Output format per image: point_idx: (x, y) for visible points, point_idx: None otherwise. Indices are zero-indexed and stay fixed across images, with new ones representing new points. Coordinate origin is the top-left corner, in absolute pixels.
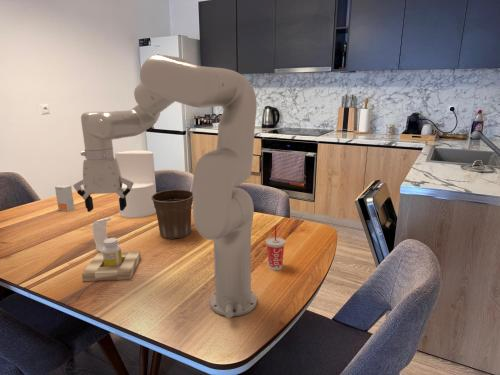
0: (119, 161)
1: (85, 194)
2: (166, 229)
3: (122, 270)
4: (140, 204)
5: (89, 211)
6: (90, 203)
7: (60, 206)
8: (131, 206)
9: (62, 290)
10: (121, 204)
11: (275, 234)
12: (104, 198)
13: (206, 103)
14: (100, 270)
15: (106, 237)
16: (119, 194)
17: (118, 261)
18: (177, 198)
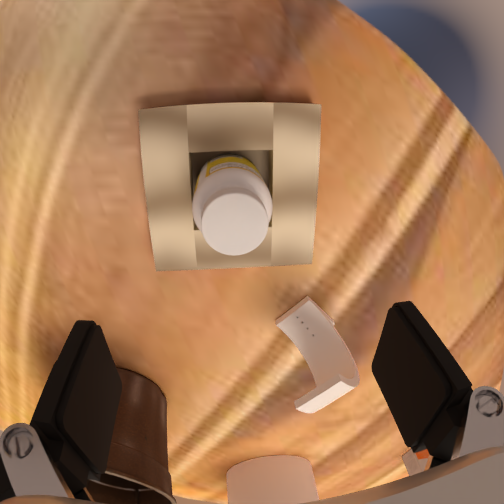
0: None
1: (494, 434)
2: (124, 392)
3: (168, 118)
4: (257, 486)
5: (395, 304)
6: (410, 378)
7: (425, 452)
8: (279, 479)
9: (355, 56)
10: (58, 363)
11: None
12: (351, 489)
13: None
14: (257, 122)
15: (309, 358)
16: (38, 470)
17: (200, 174)
18: (123, 491)
